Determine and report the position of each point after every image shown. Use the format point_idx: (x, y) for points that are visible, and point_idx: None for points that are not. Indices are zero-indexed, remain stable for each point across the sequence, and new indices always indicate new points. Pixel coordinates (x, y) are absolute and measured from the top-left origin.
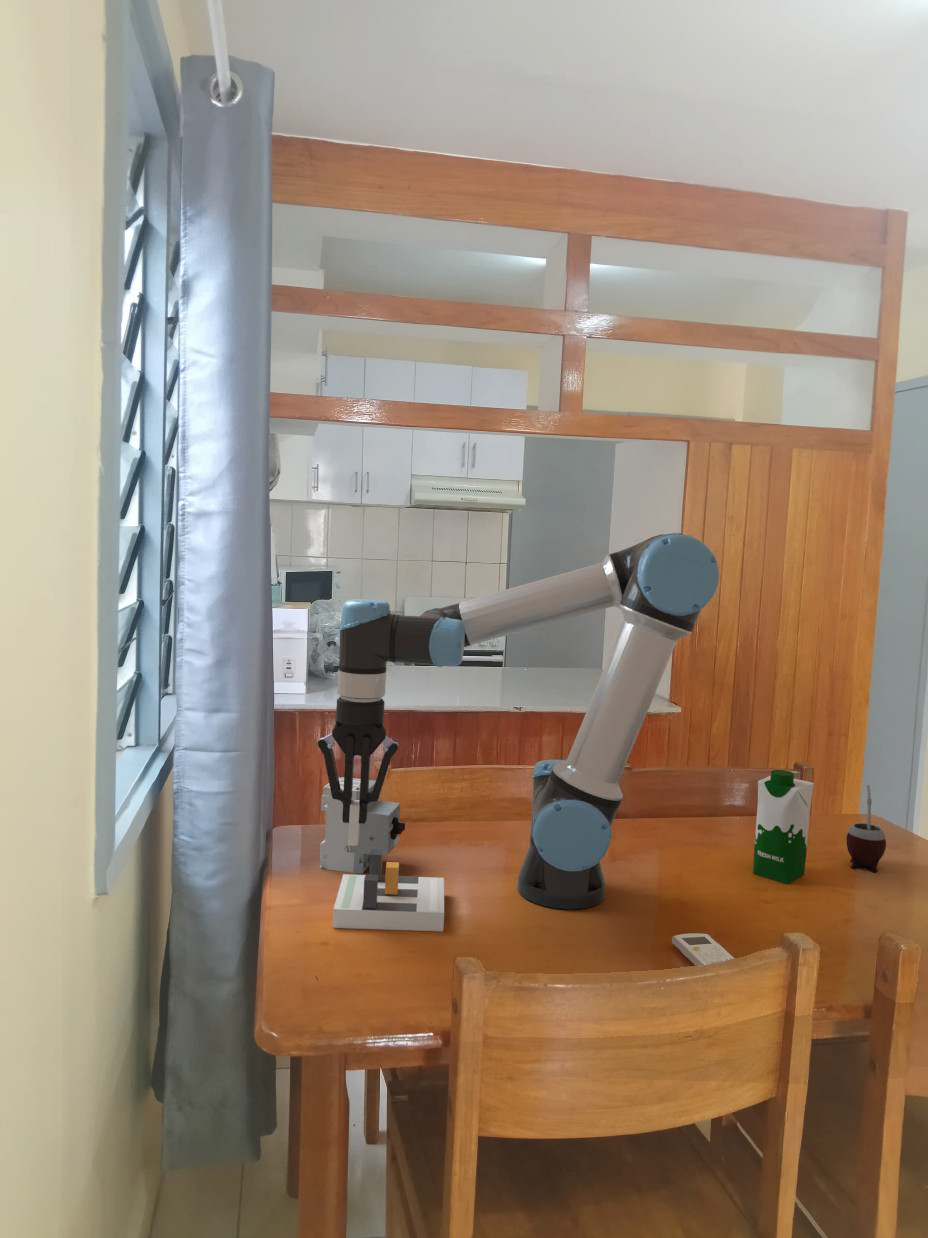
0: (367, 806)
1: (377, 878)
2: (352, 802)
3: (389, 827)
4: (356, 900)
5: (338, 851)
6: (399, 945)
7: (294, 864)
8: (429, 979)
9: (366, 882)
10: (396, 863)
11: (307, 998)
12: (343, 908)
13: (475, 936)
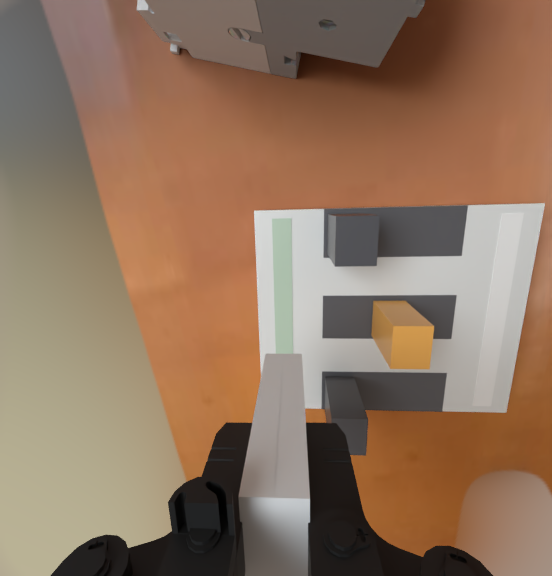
0: (358, 500)
1: (366, 441)
2: (252, 542)
3: (420, 5)
4: (306, 366)
5: (210, 33)
6: (391, 438)
7: (99, 29)
8: (435, 531)
9: None
10: (425, 336)
11: None
12: None
13: (544, 402)
